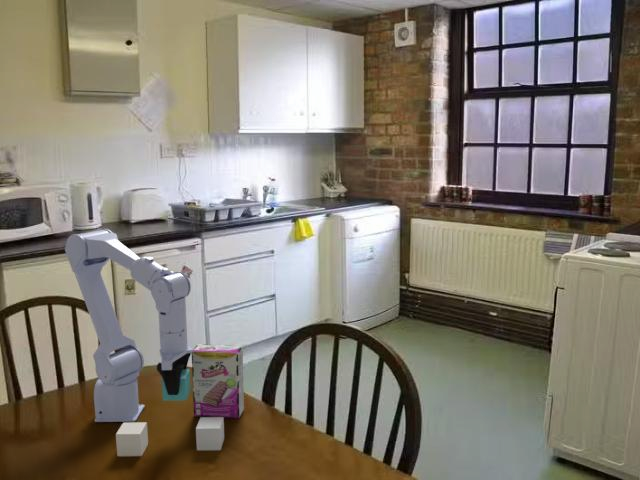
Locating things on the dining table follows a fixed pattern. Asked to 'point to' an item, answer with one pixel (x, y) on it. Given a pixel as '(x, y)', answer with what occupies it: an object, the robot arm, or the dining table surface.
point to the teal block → (183, 390)
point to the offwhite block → (132, 439)
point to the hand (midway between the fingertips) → (176, 388)
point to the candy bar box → (218, 381)
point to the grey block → (210, 433)
